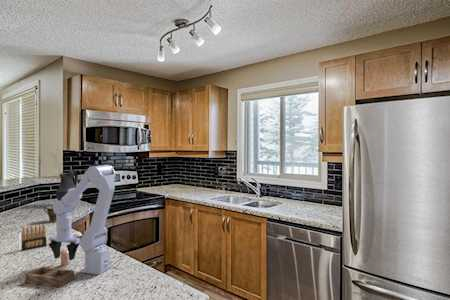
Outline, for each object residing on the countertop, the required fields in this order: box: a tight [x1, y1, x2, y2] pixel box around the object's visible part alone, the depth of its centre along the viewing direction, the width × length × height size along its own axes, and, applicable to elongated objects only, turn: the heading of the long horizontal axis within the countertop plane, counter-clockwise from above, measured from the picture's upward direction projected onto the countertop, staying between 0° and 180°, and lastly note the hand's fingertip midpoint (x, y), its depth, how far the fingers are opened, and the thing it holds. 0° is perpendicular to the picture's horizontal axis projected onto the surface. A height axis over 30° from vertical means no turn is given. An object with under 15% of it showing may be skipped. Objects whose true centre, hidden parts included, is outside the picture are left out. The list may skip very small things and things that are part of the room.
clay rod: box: [60, 249, 70, 267], centre depth 130 cm, size 3×3×6 cm
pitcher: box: [55, 170, 79, 201], centre depth 256 cm, size 17×21×30 cm
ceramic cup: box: [43, 205, 57, 224], centre depth 204 cm, size 13×10×10 cm
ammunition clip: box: [21, 222, 47, 252], centre depth 151 cm, size 11×2×12 cm, turn 130°
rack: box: [24, 266, 76, 288], centre depth 115 cm, size 16×8×3 cm, turn 75°
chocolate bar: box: [72, 230, 84, 239], centre depth 169 cm, size 9×1×18 cm
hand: (64, 258), depth 130 cm, fingers open, 7 cm apart
